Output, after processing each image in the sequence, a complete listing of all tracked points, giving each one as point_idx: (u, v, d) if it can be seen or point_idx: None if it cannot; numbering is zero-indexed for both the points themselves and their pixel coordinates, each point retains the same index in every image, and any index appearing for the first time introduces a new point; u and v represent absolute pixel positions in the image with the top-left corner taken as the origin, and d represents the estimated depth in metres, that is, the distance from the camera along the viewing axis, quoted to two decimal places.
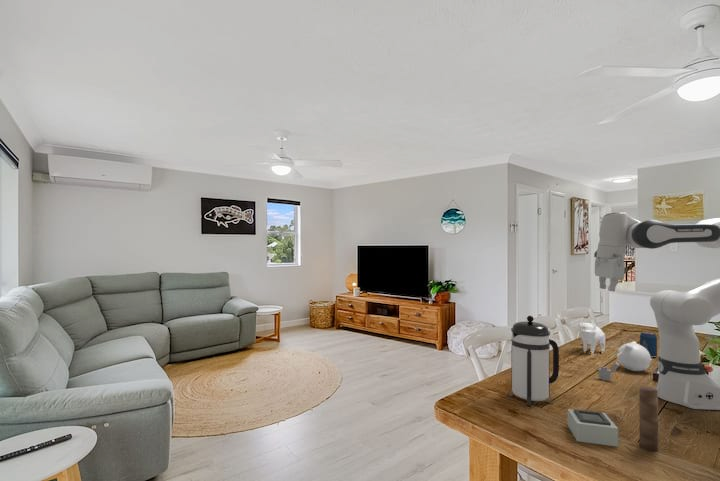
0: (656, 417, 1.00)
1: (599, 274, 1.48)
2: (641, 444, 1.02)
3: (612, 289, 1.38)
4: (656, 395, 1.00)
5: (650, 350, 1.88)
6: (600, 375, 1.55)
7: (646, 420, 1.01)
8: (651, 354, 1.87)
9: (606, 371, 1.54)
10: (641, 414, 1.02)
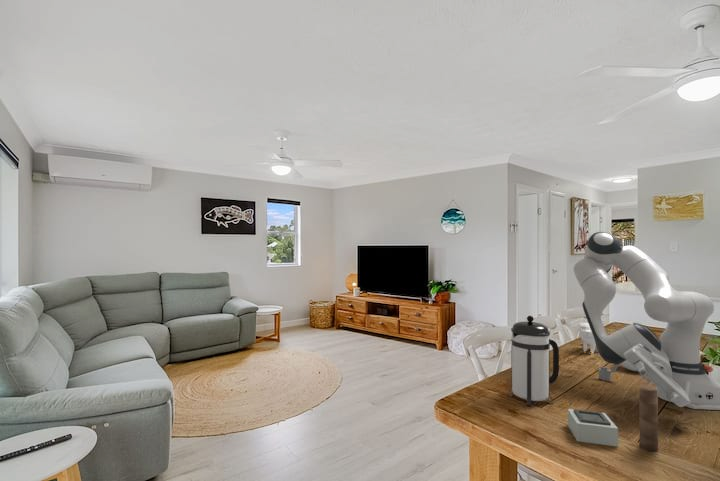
0: (656, 417, 1.00)
1: (648, 363, 1.19)
2: (641, 444, 1.02)
3: None
4: (656, 395, 1.00)
5: None
6: (600, 375, 1.55)
7: (646, 420, 1.01)
8: None
9: (606, 371, 1.54)
10: (641, 414, 1.02)
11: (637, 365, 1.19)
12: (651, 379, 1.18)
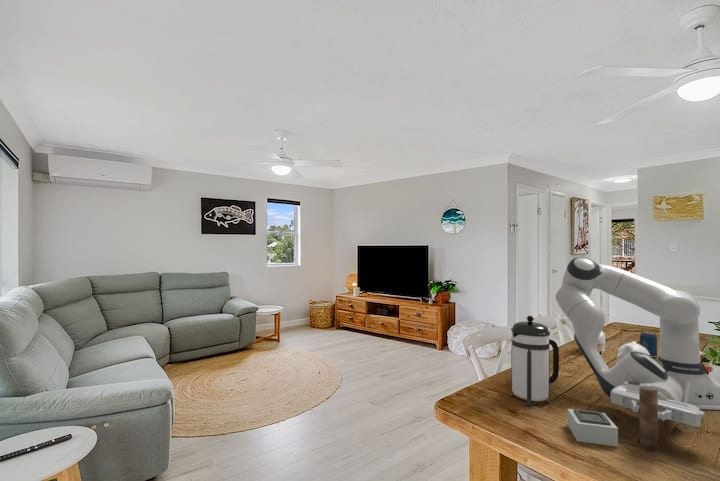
0: (656, 417, 1.00)
1: (633, 396, 1.08)
2: (641, 444, 1.02)
3: (664, 417, 1.00)
4: (656, 395, 1.00)
5: (650, 350, 1.88)
6: None
7: (646, 420, 1.01)
8: (651, 354, 1.87)
9: None
10: (641, 414, 1.02)
11: (631, 406, 1.07)
12: None
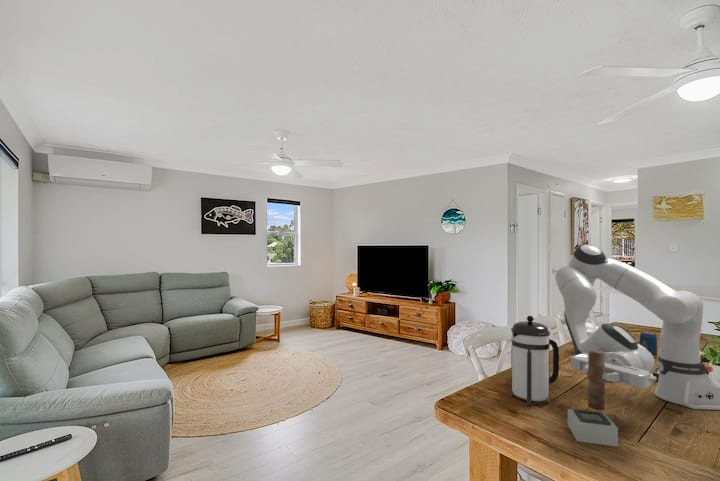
0: (601, 378, 1.06)
1: None
2: (588, 403, 1.08)
3: (609, 378, 1.05)
4: (602, 357, 1.06)
5: (650, 350, 1.88)
6: None
7: (592, 381, 1.07)
8: None
9: None
10: (589, 375, 1.08)
11: None
12: None
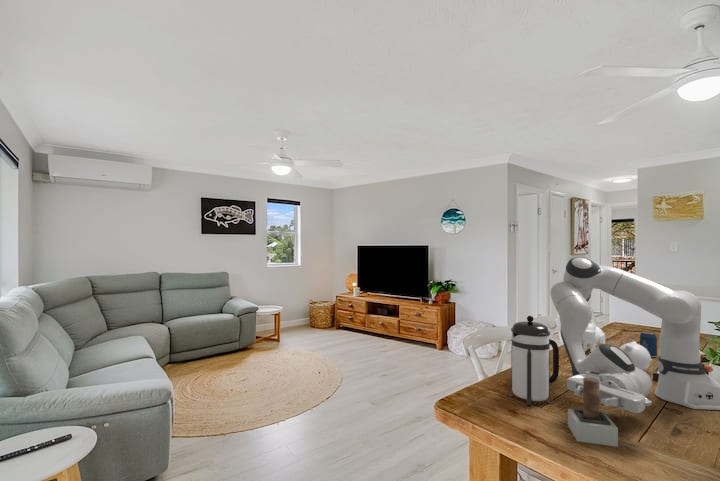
0: (596, 407, 1.07)
1: None
2: None
3: (607, 403, 1.05)
4: (596, 386, 1.07)
5: (650, 350, 1.88)
6: None
7: (586, 409, 1.08)
8: (651, 354, 1.87)
9: None
10: (583, 403, 1.09)
11: None
12: None
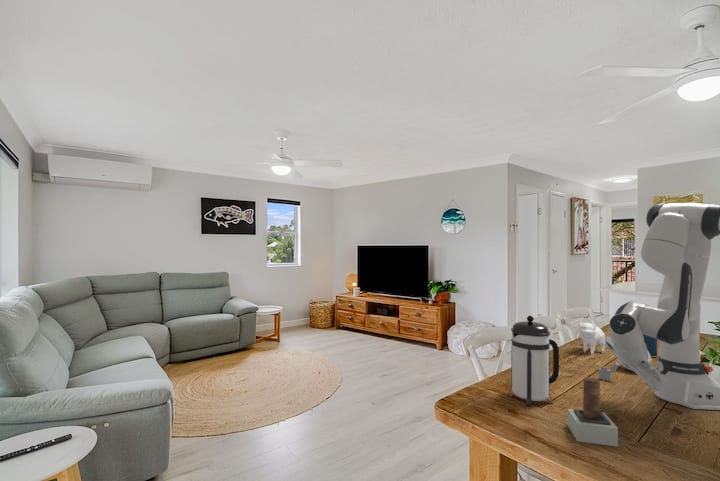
0: (596, 406, 1.07)
1: None
2: None
3: None
4: (596, 386, 1.07)
5: (650, 350, 1.88)
6: (600, 375, 1.55)
7: (586, 409, 1.08)
8: (651, 354, 1.87)
9: (606, 371, 1.54)
10: (583, 403, 1.09)
11: None
12: None
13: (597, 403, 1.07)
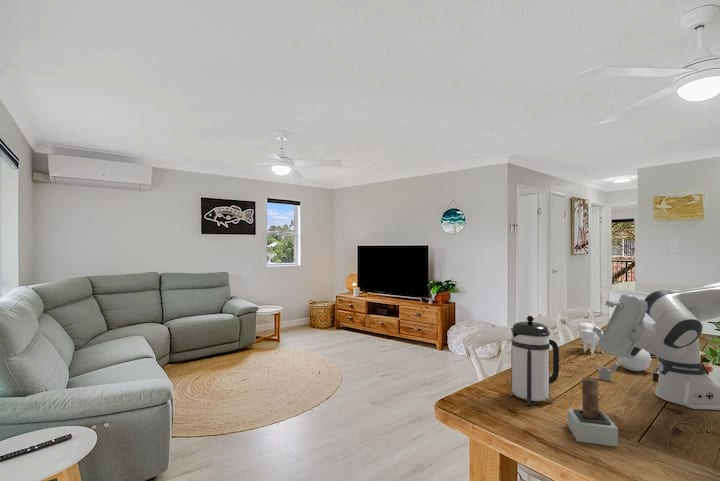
0: (595, 406, 1.07)
1: None
2: None
3: None
4: (595, 385, 1.07)
5: None
6: (600, 375, 1.55)
7: (586, 409, 1.08)
8: (651, 354, 1.87)
9: (606, 371, 1.54)
10: (582, 403, 1.09)
11: (600, 337, 1.20)
12: None
13: (596, 403, 1.07)
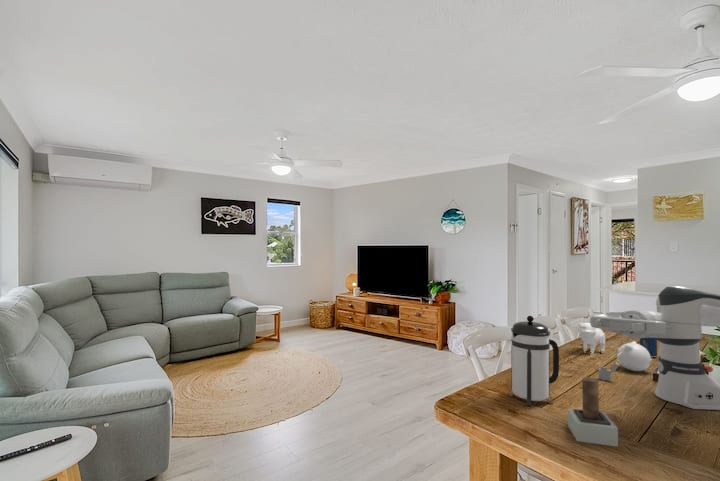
0: (595, 406, 1.07)
1: (608, 317, 1.22)
2: None
3: (634, 326, 1.11)
4: (595, 386, 1.07)
5: (650, 350, 1.88)
6: (600, 375, 1.55)
7: (586, 409, 1.08)
8: (651, 354, 1.87)
9: (606, 371, 1.54)
10: (583, 403, 1.09)
11: None
12: (620, 328, 1.18)
13: (596, 403, 1.07)
